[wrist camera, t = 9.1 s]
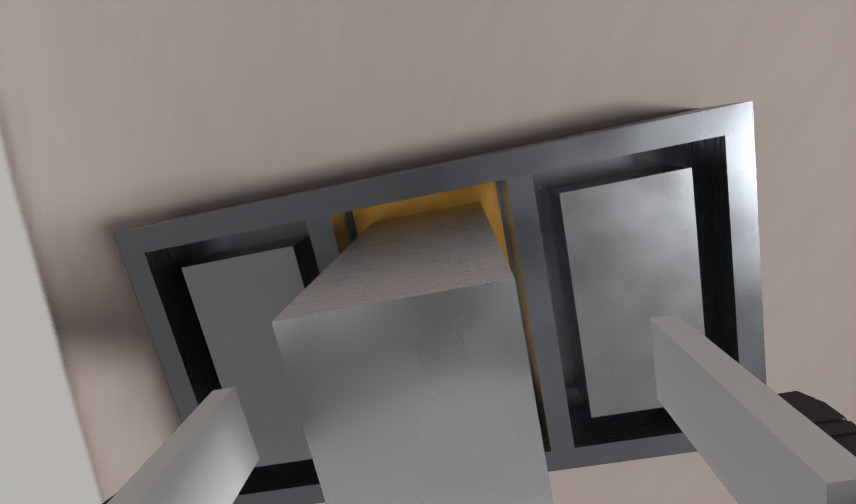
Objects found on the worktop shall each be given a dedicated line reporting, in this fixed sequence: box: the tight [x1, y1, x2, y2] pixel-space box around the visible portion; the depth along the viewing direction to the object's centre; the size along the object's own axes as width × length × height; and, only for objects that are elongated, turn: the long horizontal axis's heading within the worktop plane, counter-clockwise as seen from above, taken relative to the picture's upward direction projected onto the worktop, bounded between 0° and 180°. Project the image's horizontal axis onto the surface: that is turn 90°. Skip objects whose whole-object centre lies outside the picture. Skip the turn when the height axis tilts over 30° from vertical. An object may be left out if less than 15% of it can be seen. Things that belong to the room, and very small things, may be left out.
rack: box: [114, 101, 766, 504], centre depth 21 cm, size 14×25×4 cm, turn 102°
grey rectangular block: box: [272, 201, 553, 504], centre depth 16 cm, size 10×5×12 cm, turn 12°
